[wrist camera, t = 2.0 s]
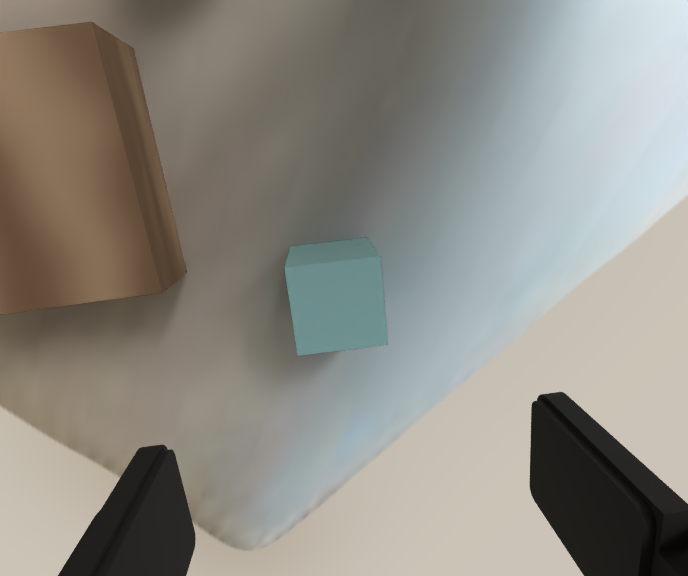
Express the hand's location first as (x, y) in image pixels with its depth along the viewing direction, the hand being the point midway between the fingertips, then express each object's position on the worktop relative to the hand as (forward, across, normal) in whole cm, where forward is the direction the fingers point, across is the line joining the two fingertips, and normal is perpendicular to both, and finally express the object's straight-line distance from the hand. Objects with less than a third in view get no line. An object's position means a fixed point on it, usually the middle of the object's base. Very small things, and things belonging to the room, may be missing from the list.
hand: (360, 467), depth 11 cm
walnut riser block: (+18, +16, -8) cm, 26 cm away
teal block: (+18, 0, 0) cm, 18 cm away
